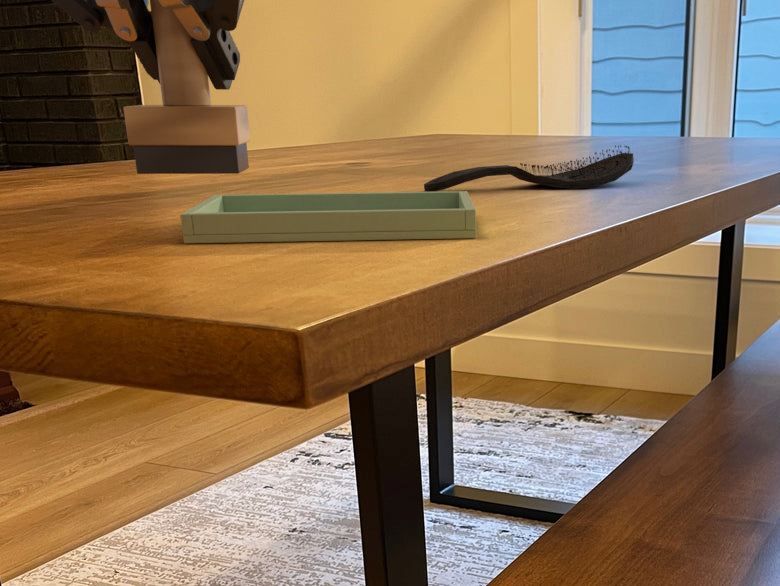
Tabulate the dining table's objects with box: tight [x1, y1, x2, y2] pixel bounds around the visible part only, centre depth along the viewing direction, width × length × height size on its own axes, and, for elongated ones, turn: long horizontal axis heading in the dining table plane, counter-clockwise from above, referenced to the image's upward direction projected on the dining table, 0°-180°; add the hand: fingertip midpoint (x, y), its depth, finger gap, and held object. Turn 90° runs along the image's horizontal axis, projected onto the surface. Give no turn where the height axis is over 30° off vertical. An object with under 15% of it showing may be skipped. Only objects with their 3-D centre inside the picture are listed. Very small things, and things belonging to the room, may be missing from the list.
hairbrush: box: [423, 144, 635, 192], centre depth 110 cm, size 8×4×25 cm
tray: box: [179, 190, 477, 245], centre depth 80 cm, size 22×14×2 cm, turn 95°
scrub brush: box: [123, 0, 251, 175], centre depth 55 cm, size 6×4×10 cm, turn 95°
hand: (200, 77), depth 57 cm, fingers closed on scrub brush, 2 cm apart
